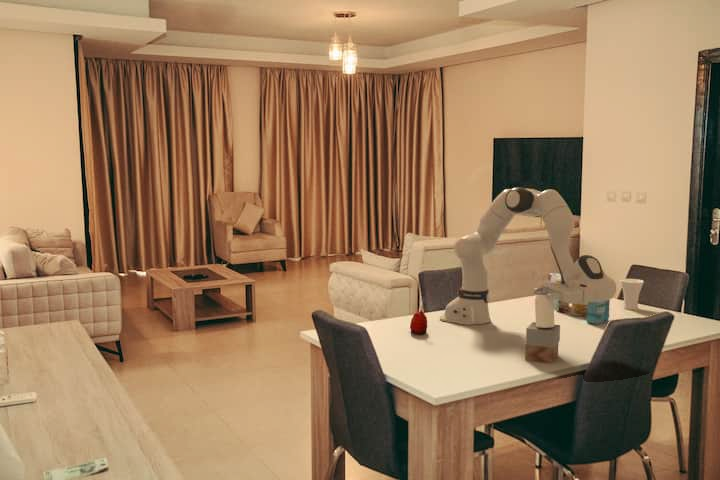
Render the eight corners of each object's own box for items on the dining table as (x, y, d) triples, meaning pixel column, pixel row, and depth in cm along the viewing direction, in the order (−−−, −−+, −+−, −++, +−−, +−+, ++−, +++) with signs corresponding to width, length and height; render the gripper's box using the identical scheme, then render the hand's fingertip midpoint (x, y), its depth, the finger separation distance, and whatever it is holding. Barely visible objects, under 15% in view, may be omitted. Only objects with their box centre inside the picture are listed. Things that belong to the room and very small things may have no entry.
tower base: (525, 360, 255) (525, 344, 254) (530, 353, 264) (531, 337, 263) (553, 363, 251) (553, 347, 250) (558, 356, 259) (558, 340, 259)
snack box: (569, 312, 327) (570, 280, 325) (557, 312, 328) (558, 280, 326) (557, 302, 348) (558, 272, 346) (546, 302, 349) (547, 272, 347)
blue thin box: (595, 325, 304) (596, 298, 302) (586, 323, 307) (587, 296, 305) (609, 320, 312) (610, 293, 310) (599, 318, 315) (600, 292, 314)
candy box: (571, 315, 321) (572, 282, 319) (572, 313, 325) (573, 280, 323) (591, 317, 318) (593, 283, 316) (592, 314, 322) (593, 282, 320)
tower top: (526, 344, 254) (526, 328, 253) (532, 337, 263) (532, 322, 262) (554, 348, 249) (554, 331, 249) (559, 341, 258) (560, 325, 257)
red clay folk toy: (416, 330, 297) (416, 295, 295) (431, 332, 293) (431, 297, 291) (407, 333, 291) (407, 298, 289) (421, 336, 287) (421, 300, 285)
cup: (622, 305, 341) (623, 277, 340) (644, 307, 335) (646, 280, 334) (616, 309, 333) (617, 281, 331) (639, 312, 327) (640, 283, 325)
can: (555, 327, 250) (554, 294, 250) (537, 328, 251) (535, 294, 251) (553, 325, 256) (551, 292, 256) (535, 325, 257) (533, 293, 257)
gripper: (559, 277, 267) (527, 279, 263) (591, 288, 247) (556, 290, 244) (559, 294, 268) (526, 296, 264) (590, 305, 248) (555, 308, 245)
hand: (540, 293), depth 254 cm, fingers open, 8 cm apart
